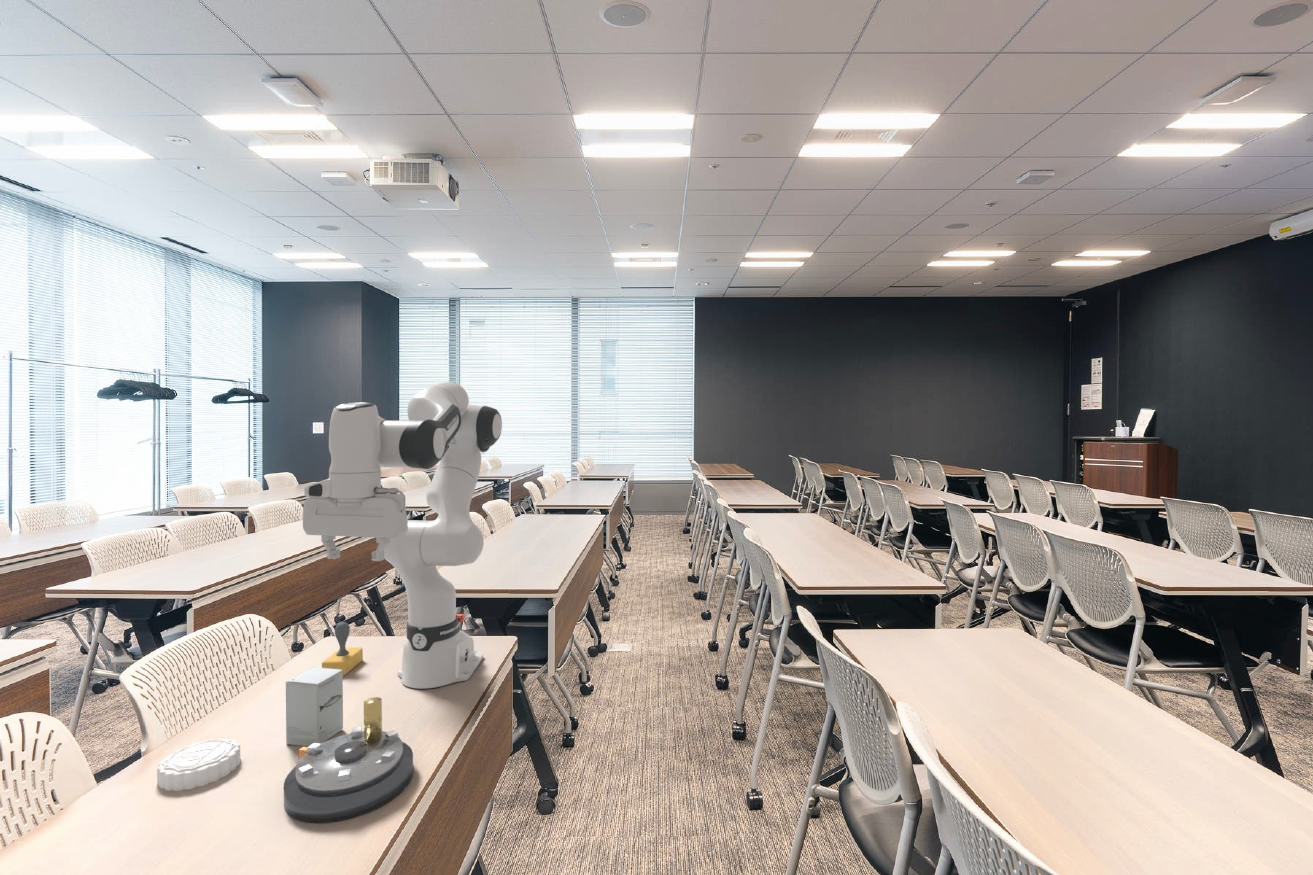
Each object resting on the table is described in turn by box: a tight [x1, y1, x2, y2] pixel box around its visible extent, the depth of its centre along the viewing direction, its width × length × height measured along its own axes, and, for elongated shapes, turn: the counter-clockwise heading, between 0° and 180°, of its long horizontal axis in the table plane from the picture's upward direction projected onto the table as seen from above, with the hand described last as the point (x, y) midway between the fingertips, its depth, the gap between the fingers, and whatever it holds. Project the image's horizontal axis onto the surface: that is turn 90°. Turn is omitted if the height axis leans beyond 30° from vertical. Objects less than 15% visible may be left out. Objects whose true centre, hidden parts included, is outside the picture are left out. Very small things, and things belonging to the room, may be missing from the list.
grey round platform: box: [283, 741, 414, 824], centre depth 104 cm, size 20×20×6 cm
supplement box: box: [285, 666, 344, 747], centre depth 120 cm, size 7×7×13 cm
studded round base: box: [295, 696, 403, 796], centre depth 104 cm, size 17×17×9 cm
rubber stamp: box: [321, 621, 364, 677], centre depth 153 cm, size 10×6×12 cm, turn 1°
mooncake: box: [156, 737, 241, 792], centre depth 108 cm, size 12×12×4 cm
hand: (355, 559), depth 113 cm, fingers open, 8 cm apart
